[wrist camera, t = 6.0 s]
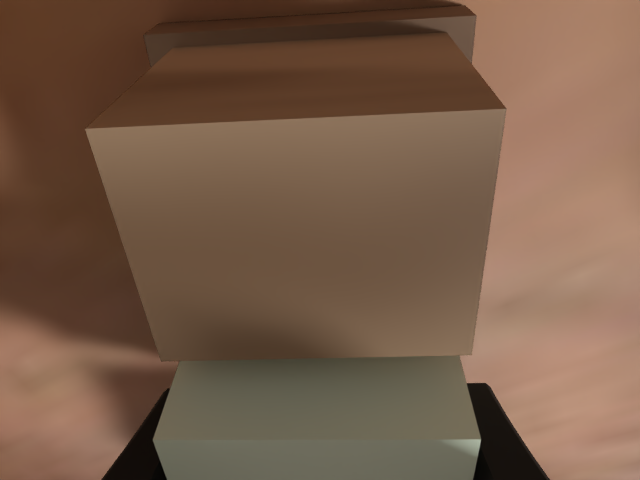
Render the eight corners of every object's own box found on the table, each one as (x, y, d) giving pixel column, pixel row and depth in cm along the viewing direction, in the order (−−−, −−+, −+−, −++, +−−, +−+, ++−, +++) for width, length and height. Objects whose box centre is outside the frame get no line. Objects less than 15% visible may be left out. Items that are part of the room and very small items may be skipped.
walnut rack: (425, 466, 18) (450, 635, 14) (255, 468, 19) (231, 633, 14) (465, 5, 10) (554, 85, 6) (159, 23, 10) (37, 110, 6)
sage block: (418, 394, 15) (450, 592, 11) (243, 395, 15) (206, 589, 11) (431, 249, 12) (481, 439, 8) (216, 253, 12) (152, 440, 8)
